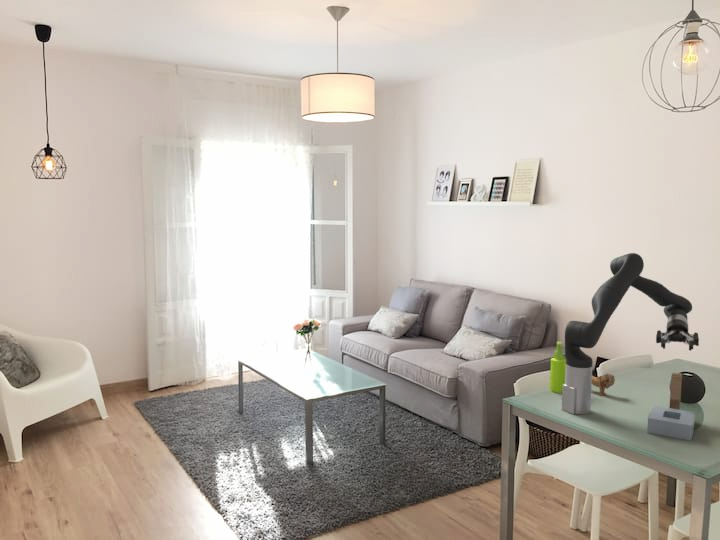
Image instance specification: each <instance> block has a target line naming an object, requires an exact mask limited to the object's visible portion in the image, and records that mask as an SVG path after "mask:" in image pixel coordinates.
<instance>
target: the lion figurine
mask: <svg viewBox="0 0 720 540" xmlns="http://www.w3.org/2000/svg"><path fill="white" fill-rule="evenodd" d="M615 382H616V378H615V376H614V374H612V373H606V374H603V375H600V376H598V377H596V376H594V375H592V385H591V386H594V387H596V388H599V395H601V397H603V396H604V395H606V392H605V389H609V388H610V387H613V385H614V384H615Z"/></svg>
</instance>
